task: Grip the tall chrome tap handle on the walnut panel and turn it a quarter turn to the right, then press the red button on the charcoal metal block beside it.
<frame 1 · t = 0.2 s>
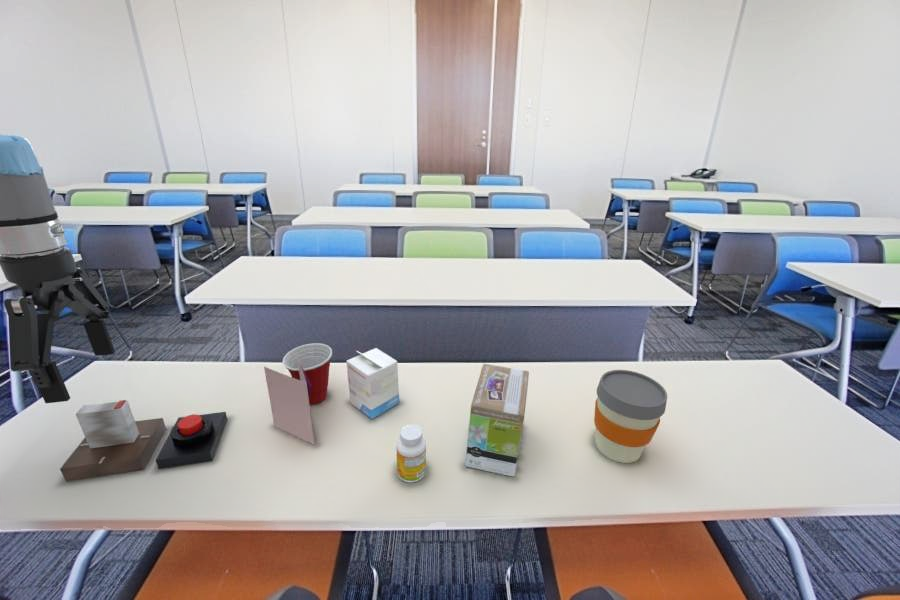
hand: (84, 375, 65), 20 cm above the table, tool pointing down, fingers open, 13 cm apart
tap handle: (108, 423, 74), point 7 cm above the table, hinge at 0.0°
greeting card: (295, 432, 84), on the table
supplement bottle: (411, 472, 75), on the table
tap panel: (120, 453, 77), on the table
button block: (195, 442, 80), on the table
button: (190, 424, 78), point 5 cm above the table, slide at 0.2 cm
plastic cup: (313, 398, 94), on the table
tea box: (495, 445, 82), on the table
reusable coffee cup: (617, 447, 83), on the table
ink box: (374, 403, 93), on the table
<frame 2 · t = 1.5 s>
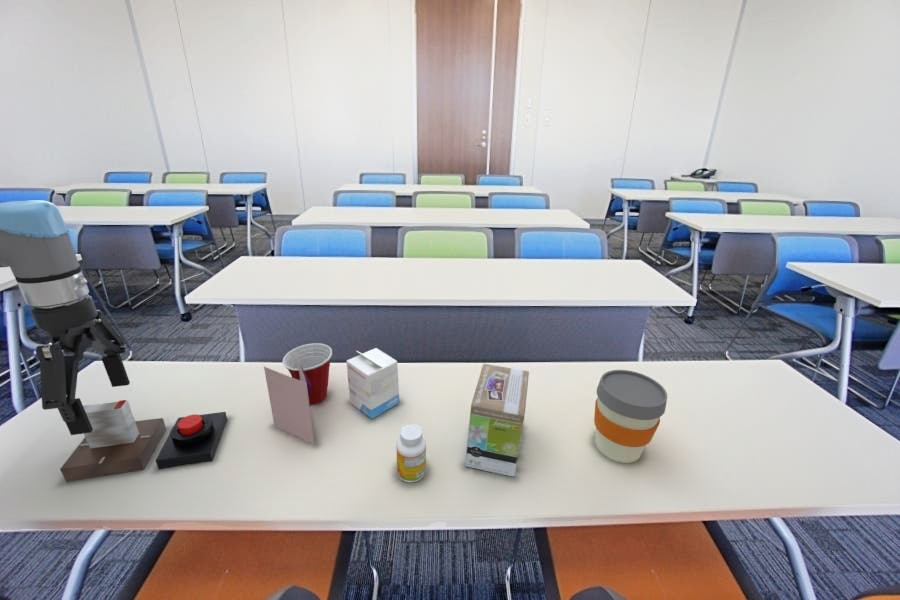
hand: (103, 406, 72), 11 cm above the table, tool pointing down, fingers open, 13 cm apart
nothing on the table moved.
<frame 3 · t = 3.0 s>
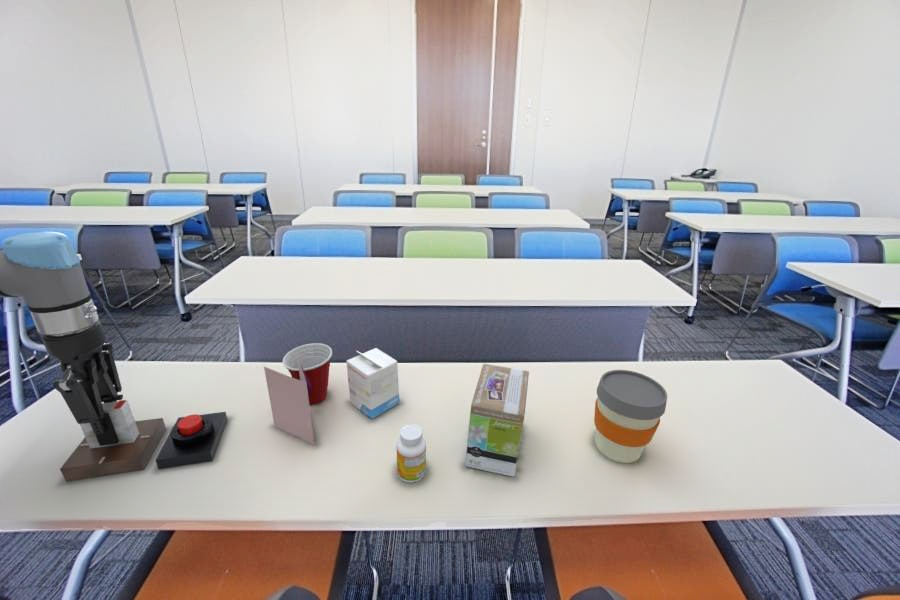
hand: (113, 437, 75), 4 cm above the table, tool pointing down, fingers closed on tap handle, 2 cm apart
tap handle: (108, 423, 74), point 7 cm above the table, hinge at 0.0°, touching gripper
everything else where it was.
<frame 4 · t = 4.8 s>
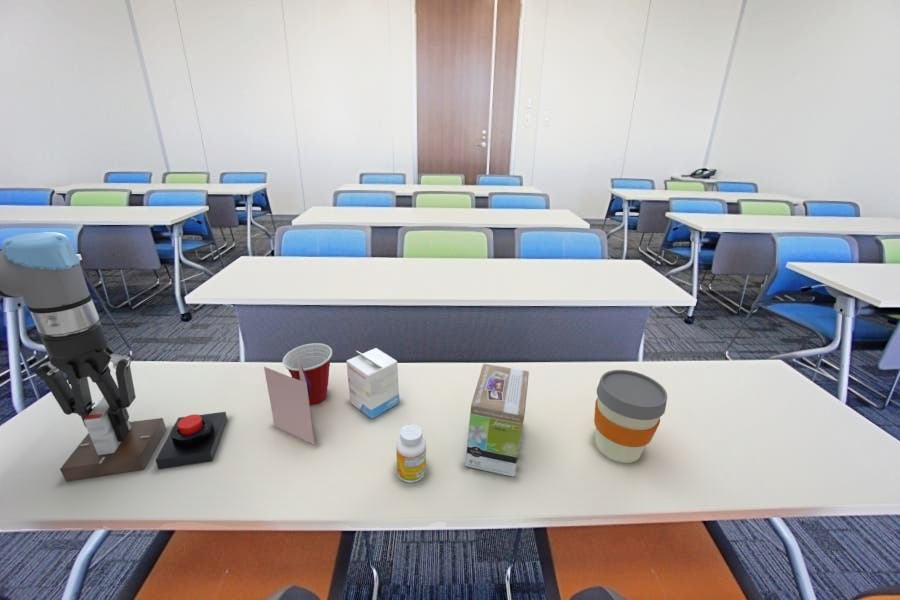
hand: (113, 437, 75), 4 cm above the table, tool pointing down, fingers closed on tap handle, 3 cm apart
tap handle: (108, 423, 74), point 7 cm above the table, hinge at -89.9°, touching gripper
everything else where it was.
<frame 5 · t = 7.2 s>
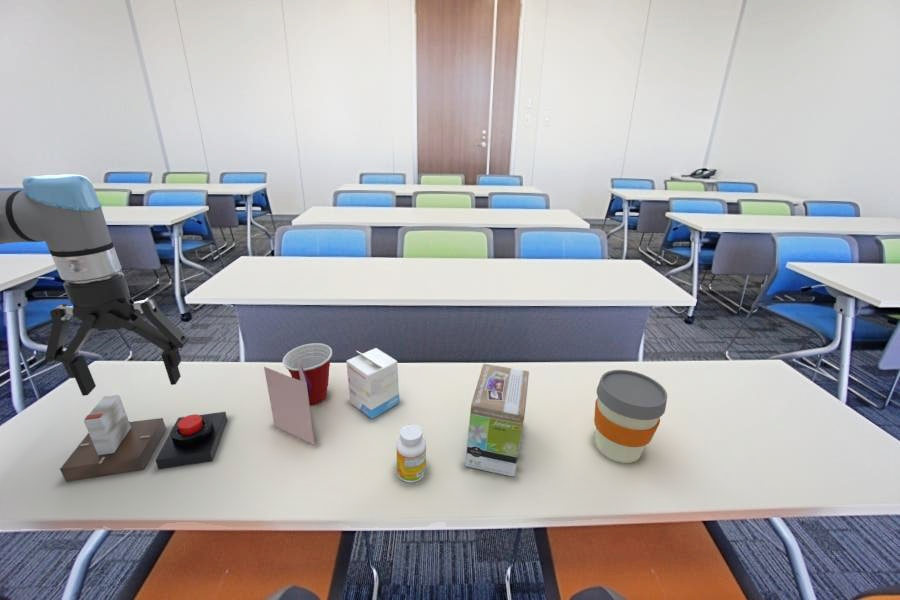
hand: (133, 385, 72), 15 cm above the table, tool pointing down, fingers open, 13 cm apart
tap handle: (108, 423, 74), point 7 cm above the table, hinge at -89.8°
everything else where it was.
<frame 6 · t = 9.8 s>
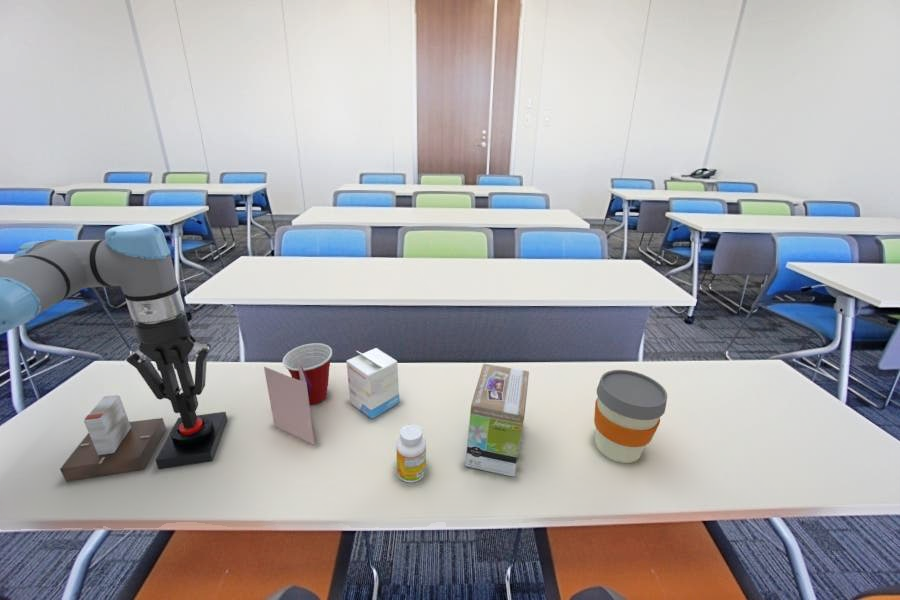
hand: (190, 423, 78), 5 cm above the table, tool pointing down, fingers closed
button: (191, 428, 78), point 4 cm above the table, slide at -0.7 cm, touching gripper
everything else where it was.
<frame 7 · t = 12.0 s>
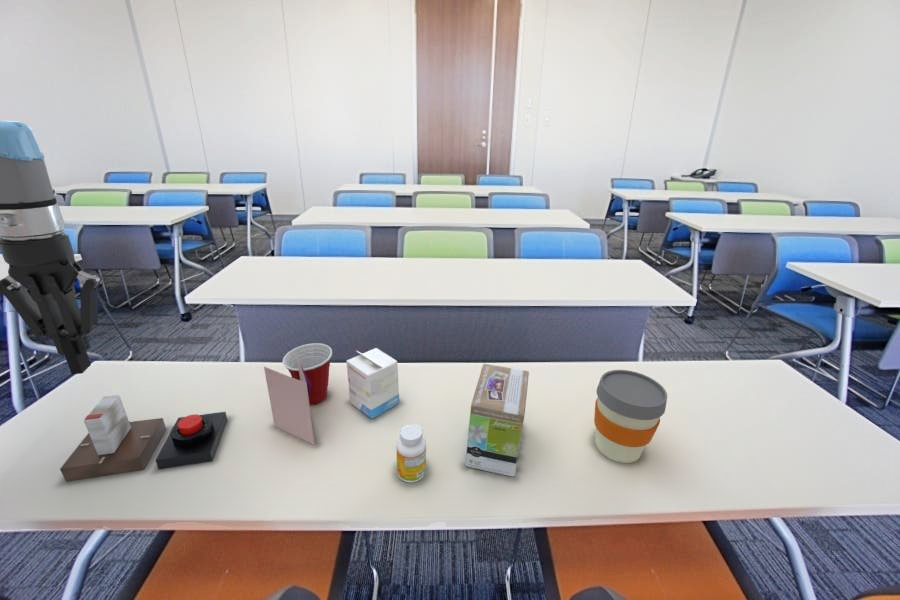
hand: (81, 369, 68), 20 cm above the table, tool pointing down, fingers closed
button: (190, 424, 78), point 5 cm above the table, slide at 0.2 cm
everything else where it was.
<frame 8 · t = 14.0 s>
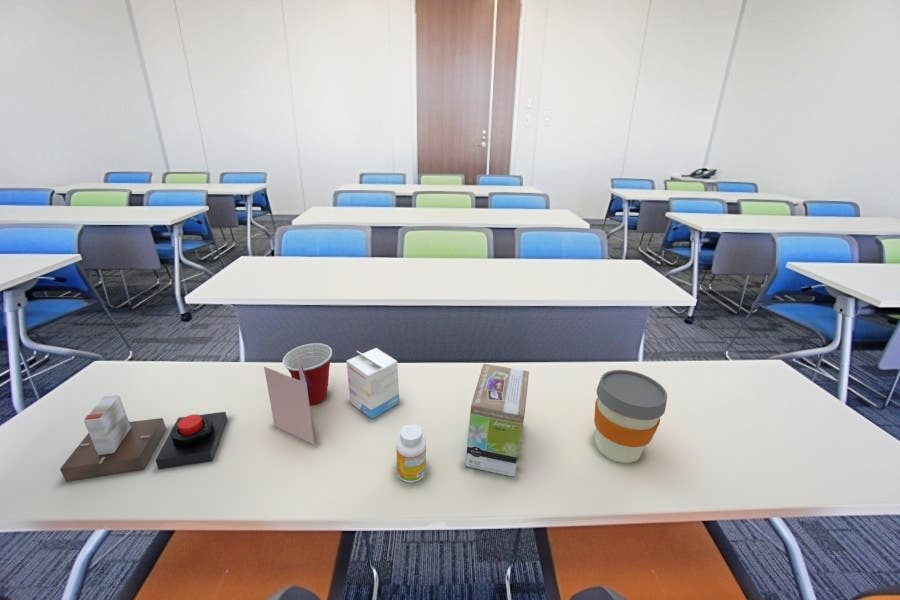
nothing on the table moved.
at the end: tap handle at -90° (first picture: +0°); button pushed in 1.0 cm at the most during the clip, back to 0.2 cm at the end; button slide at 0.2 cm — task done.
